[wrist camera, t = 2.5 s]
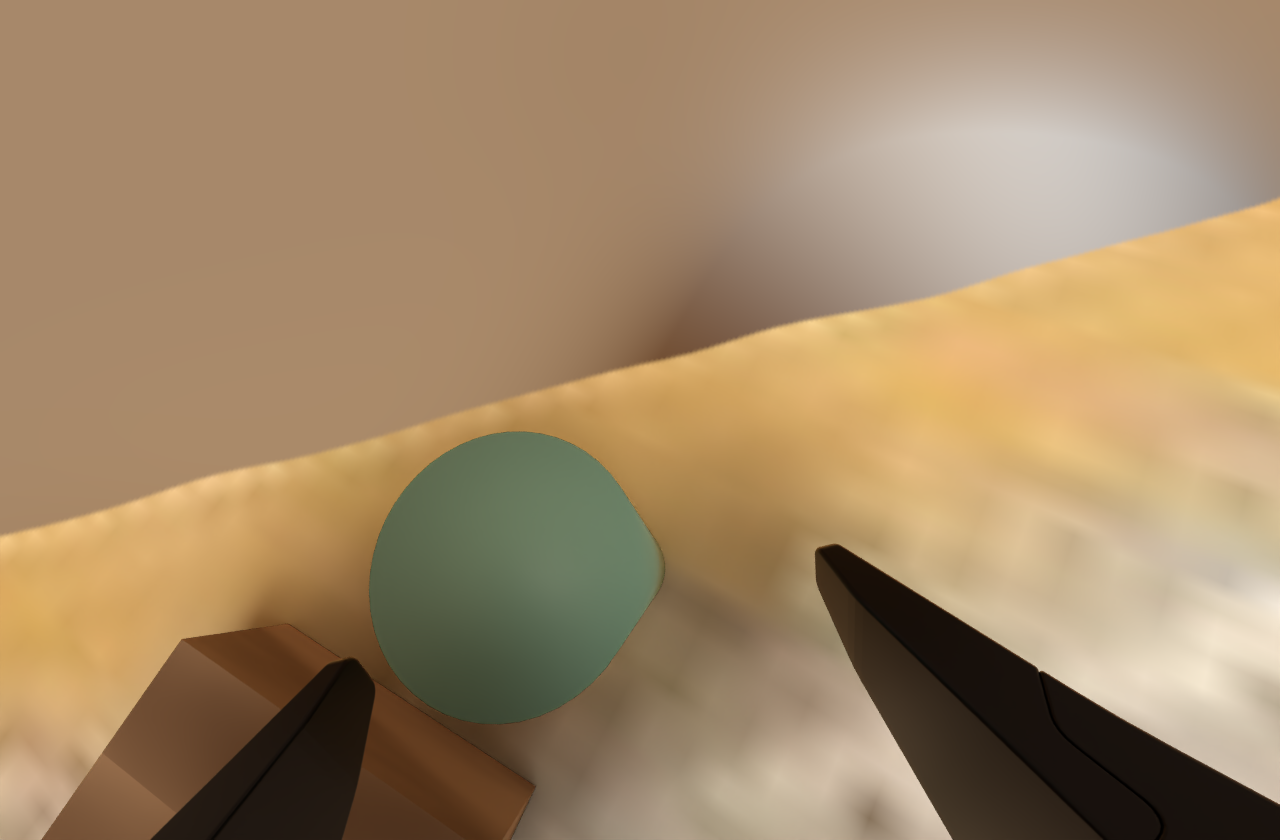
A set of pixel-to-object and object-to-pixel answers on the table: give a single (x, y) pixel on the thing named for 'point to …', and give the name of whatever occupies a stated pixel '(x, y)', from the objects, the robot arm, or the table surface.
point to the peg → (509, 577)
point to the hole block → (240, 707)
